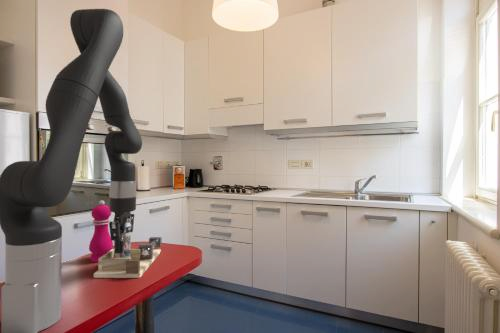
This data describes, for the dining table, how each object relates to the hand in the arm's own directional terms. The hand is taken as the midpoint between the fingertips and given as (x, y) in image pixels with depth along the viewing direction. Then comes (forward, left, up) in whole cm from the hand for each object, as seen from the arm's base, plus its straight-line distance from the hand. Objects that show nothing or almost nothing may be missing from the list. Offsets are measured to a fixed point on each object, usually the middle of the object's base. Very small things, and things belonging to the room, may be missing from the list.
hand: (122, 250), depth 88 cm
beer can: (0, 0, -4) cm, 4 cm away
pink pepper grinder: (+9, +10, -6) cm, 15 cm away
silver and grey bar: (+11, -5, -4) cm, 13 cm away
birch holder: (+5, -1, -6) cm, 8 cm away
